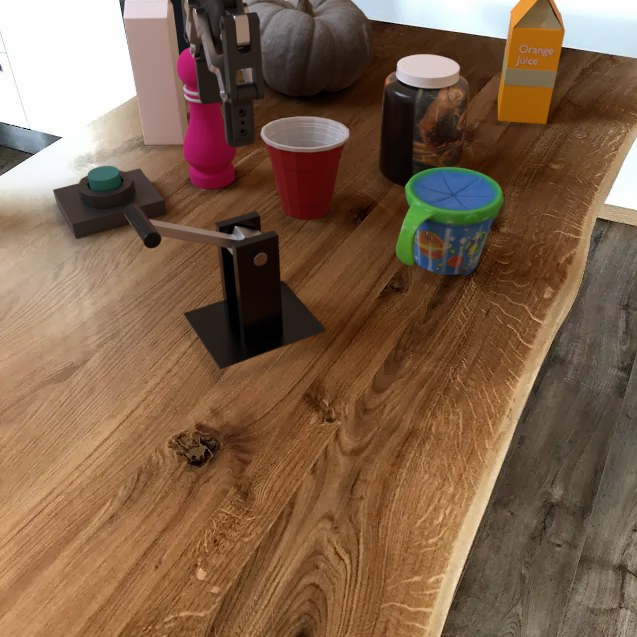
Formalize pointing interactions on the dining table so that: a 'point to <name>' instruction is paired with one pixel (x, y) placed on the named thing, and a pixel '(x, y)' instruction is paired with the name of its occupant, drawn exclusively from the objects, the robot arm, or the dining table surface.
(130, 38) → the milk
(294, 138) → the plastic cup
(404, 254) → the snack cup
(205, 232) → the lever
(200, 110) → the pepper mill
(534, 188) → the dining table surface
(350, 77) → the gourd
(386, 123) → the jar
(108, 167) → the button
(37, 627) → the dining table surface
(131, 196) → the control block
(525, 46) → the orange juice
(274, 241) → the bracket
